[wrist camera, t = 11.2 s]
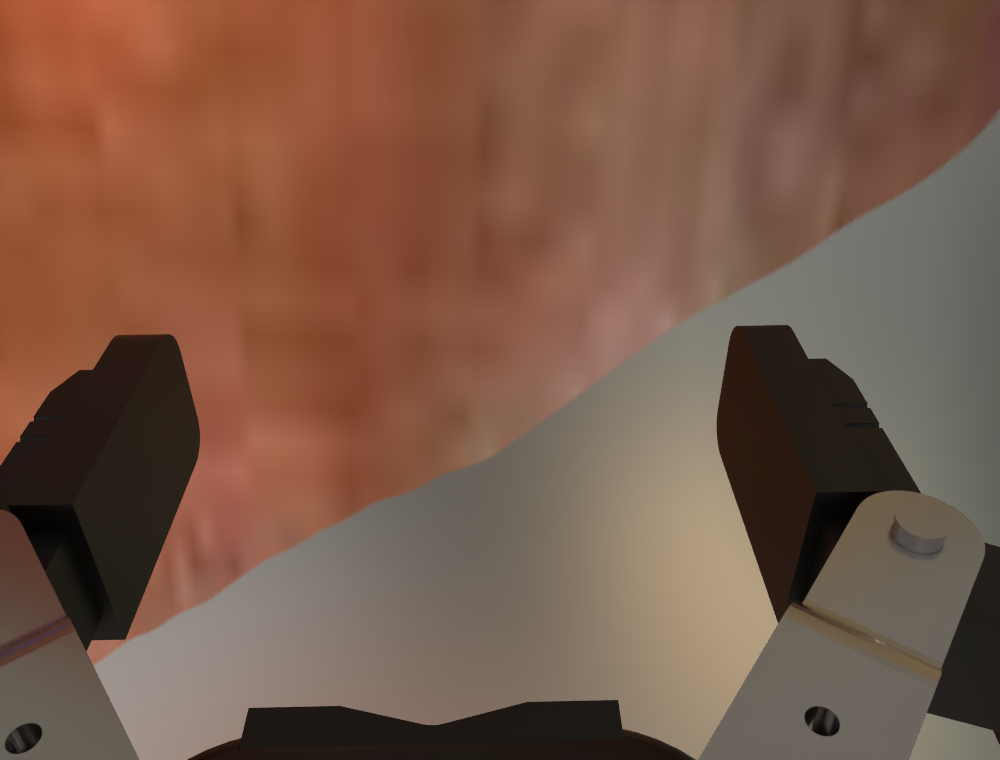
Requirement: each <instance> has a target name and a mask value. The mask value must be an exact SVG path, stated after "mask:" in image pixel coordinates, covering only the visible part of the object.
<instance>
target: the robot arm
mask: <svg viewBox="0 0 1000 760" xmlns="http://www.w3.org/2000/svg"><path fill="white" fill-rule="evenodd" d="M717 439H718V446H719V451H720V455H721V458H722V461H723V464H724V467H725V470H726V472H727V476H728V478H729V481H730V484H731V487H732V490H733V493H734V496H735V499H736V502H737V505H738V508H739V510H740V513H741V516H742V519H743V522H744V525H745V527H746V531H747V534H748V537H749V539H750V543H751V545H752V548H753V551H754V554H755V557H756V560H757V563H758V565H759V569H760V572H761V574H762V577H763V580H764V583H765V586H766V589H767V592H768V595H769V598H770V601H771V603H772V607H773V610H774V612H775V615H776V618H777V621H778V625H777V627H776V629H775V630H774V632H773V634H772V636H771V637H770V639H769V641H768V643H767V644H766V646H765V647H764V649H763V651H762V652H761V654H760V656H759V658H758V659H757V661H756V663H755V664H754V666H753V668H752V670H751V671H750V673H749V675H748V676H747V678H746V680H745V681H744V683H743V685H742V686H741V688H740V690H739V691H738V693H737V695H736V696H735V698H734V700H733V702H732V703H731V705H730V707H729V708H728V710H727V712H726V714H725V715H724V717H723V719H722V720H721V722H720V724H719V725H718V727H717V729H716V730H715V732H714V734H713V735H712V737H711V739H710V741H709V742H708V744H707V746H706V747H705V749H704V751H703V752H702V754H701V756H700V758H699V759H698V760H909V758H910V755H911V753H912V750H913V747H914V745H915V742H916V740H917V737H918V734H919V732H920V729H921V727H922V724H923V721H924V719H925V716H926V713H930V714H934V715H937V716H941V717H945V718H949V719H953V720H956V721H960V722H965V723H968V724H972V725H976V726H979V727H984V728H987V729H991V730H993V731H994V733H995V735H996V738H997V740H998V742H999V744H1000V547H998V546H994V545H990V544H987V543H985V542H984V540H983V537H982V535H981V534H980V532H979V530H978V528H977V527H976V526H975V525H974V524H973V522H972V521H971V520H970V519H969V518H968V517H967V516H965V515H964V514H963V513H961V512H960V511H959V510H957V509H956V508H954V507H953V506H951V505H949V504H947V503H946V502H943V501H941V500H939V499H937V498H934V497H931V496H928V495H925V494H921V492H920V491H919V489H918V487H917V486H916V484H915V482H914V481H913V479H912V477H911V476H910V474H909V472H908V471H907V469H906V467H905V466H904V464H903V462H902V461H901V459H900V457H899V456H898V454H897V452H896V451H895V449H894V447H893V445H892V444H891V442H890V441H889V439H888V437H887V436H886V434H885V432H884V430H883V429H882V428H879V422H878V420H877V419H876V417H875V415H874V414H873V412H872V410H871V409H870V408H867V402H866V400H865V399H864V397H863V395H862V394H861V392H860V390H859V389H858V387H857V385H856V383H855V382H854V380H853V379H851V378H850V377H849V376H848V375H847V374H845V373H844V372H843V371H841V370H840V369H839V368H837V367H836V366H835V365H834V364H832V363H831V362H830V361H828V360H827V359H808V358H807V356H806V354H805V352H804V350H803V348H802V346H801V345H800V343H799V341H798V339H797V337H796V336H795V334H794V332H793V330H792V329H791V327H790V326H788V325H769V326H768V325H766V326H736V327H735V328H734V329H733V331H732V333H731V336H730V341H729V346H728V352H727V358H726V364H725V371H724V376H723V382H722V388H721V394H720V400H719V406H718V414H717ZM199 445H200V431H199V422H198V418H197V414H196V410H195V406H194V402H193V398H192V394H191V391H190V387H189V383H188V379H187V375H186V371H185V368H184V364H183V360H182V356H181V352H180V349H179V346H178V343H177V341H176V339H175V338H174V337H173V336H172V335H169V334H160V335H118V336H115V337H114V338H113V339H112V340H111V342H110V344H109V345H108V347H107V348H106V350H105V351H104V353H103V355H102V356H101V358H100V359H99V361H98V363H97V364H96V366H95V367H94V369H93V370H79V371H78V372H76V373H75V374H74V375H72V376H71V377H70V378H68V379H67V380H66V381H64V382H63V383H62V384H60V385H59V386H58V387H56V388H55V389H54V390H52V391H51V392H50V393H49V395H48V396H47V398H46V399H45V401H44V402H43V404H42V405H41V407H40V408H39V409H38V411H37V412H36V414H35V415H34V422H30V423H29V424H28V426H27V427H26V429H25V430H24V432H23V433H22V435H21V436H20V442H16V444H15V445H14V447H13V448H12V450H11V451H10V453H9V454H8V455H7V457H6V458H5V460H4V461H3V463H2V464H1V466H0V760H139V758H138V756H137V754H136V752H135V750H134V748H133V746H132V744H131V742H130V740H129V738H128V735H127V733H126V732H125V729H124V727H123V725H122V723H121V721H120V719H119V717H118V715H117V713H116V711H115V709H114V707H113V705H112V703H111V701H110V699H109V697H108V695H107V693H106V691H105V689H104V687H103V685H102V683H101V681H100V679H99V677H98V675H97V673H96V671H95V669H94V666H93V664H92V662H91V660H90V658H89V656H88V654H87V652H86V651H87V649H88V647H89V645H90V642H91V640H124V639H126V637H127V634H128V632H129V629H130V627H131V624H132V622H133V619H134V617H135V614H136V612H137V609H138V607H139V604H140V602H141V599H142V597H143V594H144V592H145V589H146V587H147V584H148V582H149V579H150V577H151V574H152V572H153V569H154V567H155V564H156V562H157V559H158V557H159V554H160V552H161V549H162V547H163V544H164V542H165V539H166V537H167V534H168V532H169V529H170V527H171V524H172V522H173V519H174V517H175V514H176V512H177V509H178V507H179V504H180V502H181V500H182V497H183V495H184V492H185V490H186V487H187V485H188V482H189V480H190V477H191V475H192V472H193V470H194V467H195V465H196V462H197V458H198V453H199ZM188 760H695V759H693V758H692V757H690V756H689V755H687V754H685V753H684V752H682V751H681V750H679V749H677V748H674V747H672V746H670V745H668V744H666V743H664V742H662V741H660V740H657V739H655V738H651V737H649V736H646V735H643V734H640V733H637V732H632V731H629V730H624V729H622V724H621V717H620V710H619V704H618V700H605V701H604V700H603V701H557V702H555V701H554V702H526V703H522V704H519V705H514V706H510V707H507V708H503V709H499V710H495V711H491V712H487V713H484V714H480V715H476V716H472V717H468V718H464V719H460V720H456V721H453V722H449V723H445V724H440V725H423V724H419V723H414V722H409V721H405V720H400V719H396V718H391V717H387V716H382V715H377V714H373V713H369V712H364V711H359V710H354V709H351V708H346V707H342V706H321V707H275V708H249V710H248V714H247V717H246V722H245V726H244V730H243V734H242V738H240V739H237V740H233V741H229V742H227V743H224V744H221V745H219V746H216V747H213V748H211V749H208V750H206V751H204V752H202V753H200V754H198V755H196V756H194V757H192V758H189V759H188Z"/></svg>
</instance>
